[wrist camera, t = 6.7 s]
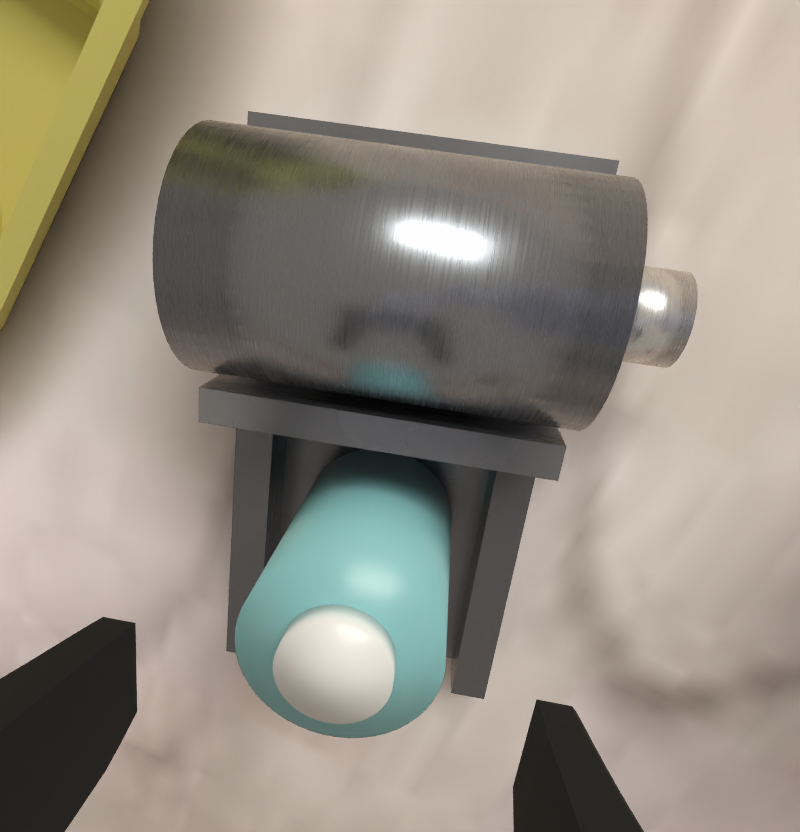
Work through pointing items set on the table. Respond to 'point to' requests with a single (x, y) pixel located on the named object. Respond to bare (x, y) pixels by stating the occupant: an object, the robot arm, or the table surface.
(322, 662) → the teal rounded cylinder
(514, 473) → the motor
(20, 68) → the plastic component
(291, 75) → the table surface
